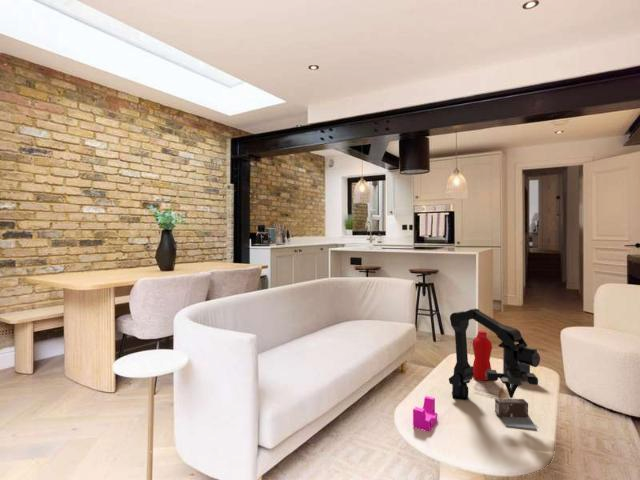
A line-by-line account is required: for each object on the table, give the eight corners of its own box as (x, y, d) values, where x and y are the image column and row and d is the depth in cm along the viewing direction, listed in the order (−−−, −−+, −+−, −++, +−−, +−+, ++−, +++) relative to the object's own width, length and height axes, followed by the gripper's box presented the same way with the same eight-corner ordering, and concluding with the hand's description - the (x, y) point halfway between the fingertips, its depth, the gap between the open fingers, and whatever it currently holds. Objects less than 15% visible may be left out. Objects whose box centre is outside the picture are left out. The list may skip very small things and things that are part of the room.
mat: (505, 426, 148) (505, 425, 148) (498, 409, 162) (498, 408, 162) (536, 430, 145) (536, 428, 145) (526, 412, 160) (526, 411, 160)
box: (499, 403, 154) (528, 403, 154) (494, 398, 159) (522, 398, 158) (499, 417, 154) (528, 417, 154) (494, 412, 159) (523, 412, 159)
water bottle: (468, 373, 204) (468, 328, 203) (490, 375, 201) (490, 329, 200) (470, 380, 195) (470, 332, 194) (493, 382, 192) (493, 334, 191)
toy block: (428, 432, 144) (428, 413, 144) (413, 427, 148) (413, 409, 148) (440, 417, 156) (440, 399, 156) (426, 413, 160) (426, 395, 160)
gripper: (489, 364, 148) (489, 403, 148) (542, 368, 143) (542, 408, 143) (485, 355, 159) (485, 392, 159) (534, 359, 154) (533, 396, 154)
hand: (510, 397), depth 154 cm, fingers closed
